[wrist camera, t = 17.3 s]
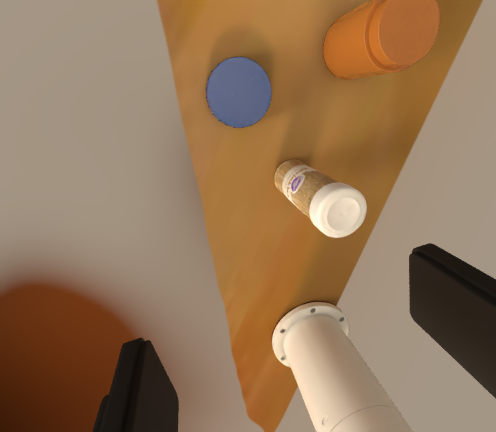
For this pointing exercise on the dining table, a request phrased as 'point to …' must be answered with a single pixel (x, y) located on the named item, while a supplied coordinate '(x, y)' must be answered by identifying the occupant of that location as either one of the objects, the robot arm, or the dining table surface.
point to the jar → (381, 37)
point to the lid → (238, 92)
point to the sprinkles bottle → (321, 198)
